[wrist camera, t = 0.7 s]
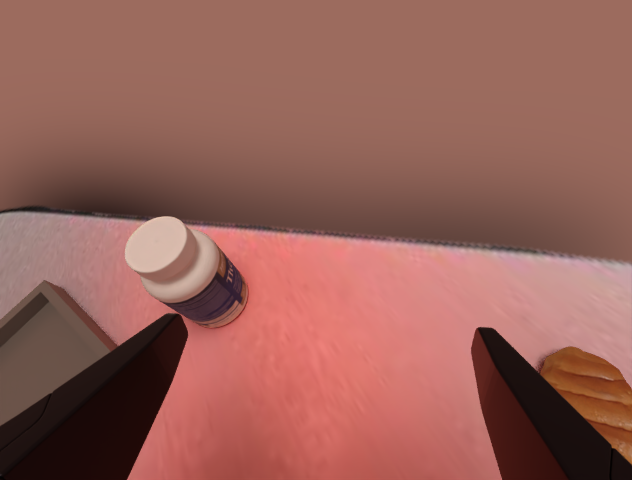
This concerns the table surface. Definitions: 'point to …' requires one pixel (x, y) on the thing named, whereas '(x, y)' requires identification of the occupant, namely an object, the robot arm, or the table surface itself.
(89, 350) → the tray
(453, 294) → the table surface
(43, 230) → the table surface
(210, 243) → the pill bottle
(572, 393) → the pastry
